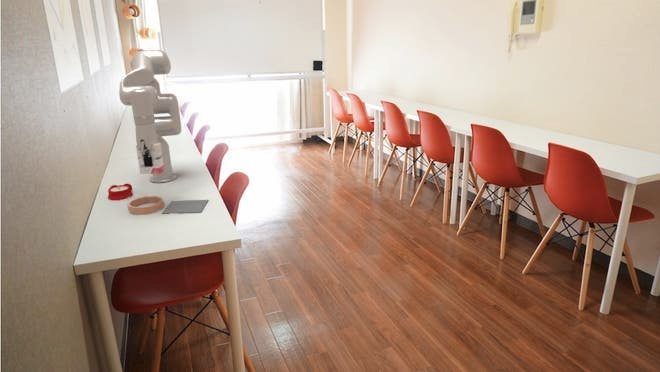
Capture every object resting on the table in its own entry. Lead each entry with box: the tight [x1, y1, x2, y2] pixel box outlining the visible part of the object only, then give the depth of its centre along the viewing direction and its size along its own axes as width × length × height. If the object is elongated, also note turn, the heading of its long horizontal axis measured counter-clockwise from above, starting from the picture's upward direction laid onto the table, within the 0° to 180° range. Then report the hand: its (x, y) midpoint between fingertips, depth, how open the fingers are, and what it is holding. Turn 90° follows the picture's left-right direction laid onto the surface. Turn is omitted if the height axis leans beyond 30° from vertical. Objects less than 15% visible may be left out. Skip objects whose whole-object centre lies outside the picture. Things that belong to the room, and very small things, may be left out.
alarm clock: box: [107, 183, 134, 201], centre depth 201 cm, size 10×6×15 cm
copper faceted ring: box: [127, 195, 165, 216], centre depth 185 cm, size 14×14×3 cm
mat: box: [161, 199, 209, 215], centre depth 186 cm, size 14×16×1 cm
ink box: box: [135, 143, 164, 175], centre depth 178 cm, size 9×5×12 cm, turn 91°
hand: (151, 164), depth 179 cm, fingers closed on ink box, 5 cm apart
